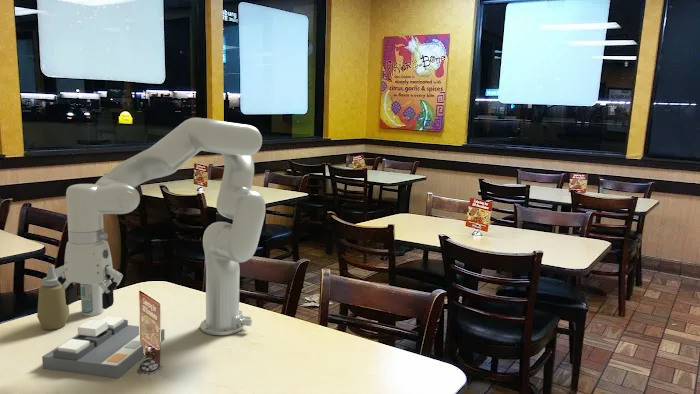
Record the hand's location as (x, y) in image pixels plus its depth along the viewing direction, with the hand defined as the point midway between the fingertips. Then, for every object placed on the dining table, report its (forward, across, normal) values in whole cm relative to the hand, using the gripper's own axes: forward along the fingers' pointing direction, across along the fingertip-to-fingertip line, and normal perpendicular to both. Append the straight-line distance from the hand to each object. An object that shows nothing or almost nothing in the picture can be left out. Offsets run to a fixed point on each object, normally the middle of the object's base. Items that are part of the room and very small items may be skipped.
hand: (89, 305), depth 129 cm
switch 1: (+12, +5, 0) cm, 13 cm away
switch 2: (+10, +5, -7) cm, 14 cm away
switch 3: (+13, +5, -15) cm, 20 cm away
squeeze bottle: (+16, +25, -18) cm, 35 cm away
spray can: (+16, +21, -30) cm, 40 cm away
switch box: (+16, +1, -7) cm, 18 cm away
